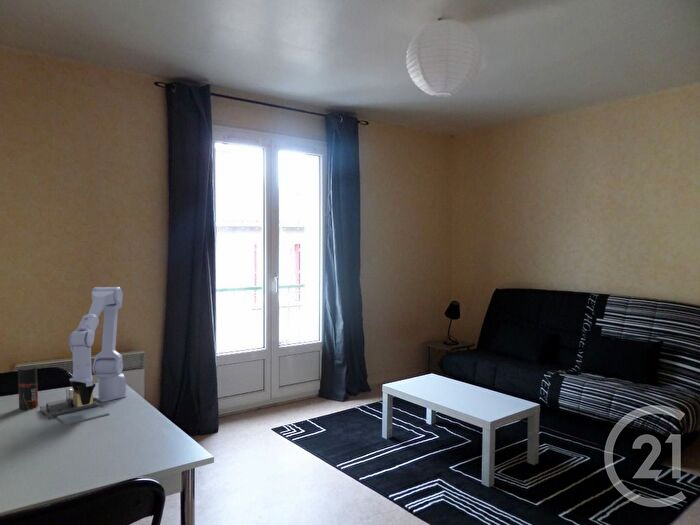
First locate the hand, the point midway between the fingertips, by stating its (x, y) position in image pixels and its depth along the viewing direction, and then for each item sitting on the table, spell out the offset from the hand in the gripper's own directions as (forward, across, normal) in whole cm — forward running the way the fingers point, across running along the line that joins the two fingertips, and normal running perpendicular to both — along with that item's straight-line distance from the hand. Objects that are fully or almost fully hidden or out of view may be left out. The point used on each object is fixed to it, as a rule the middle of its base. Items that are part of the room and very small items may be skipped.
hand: (83, 402), depth 174 cm
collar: (0, 0, 0) cm, 0 cm away
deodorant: (+5, -25, -11) cm, 28 cm away
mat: (+5, 0, 0) cm, 5 cm away
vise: (+5, -12, -1) cm, 13 cm away
